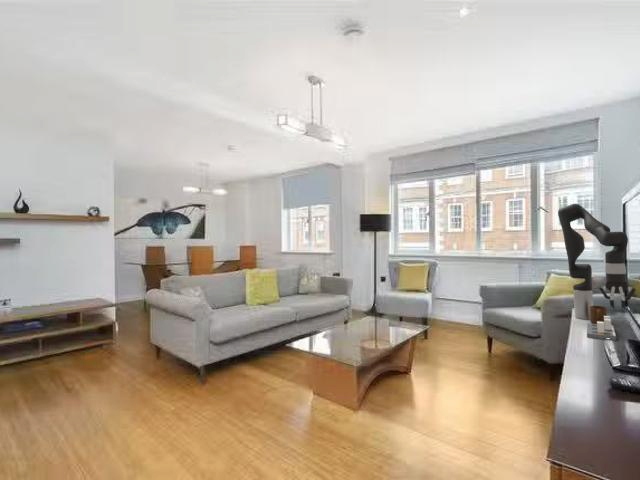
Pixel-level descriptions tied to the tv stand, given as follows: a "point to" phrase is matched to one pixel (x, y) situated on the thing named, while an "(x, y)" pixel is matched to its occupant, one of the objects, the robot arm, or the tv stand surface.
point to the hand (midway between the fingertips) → (617, 307)
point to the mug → (597, 314)
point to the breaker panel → (593, 333)
